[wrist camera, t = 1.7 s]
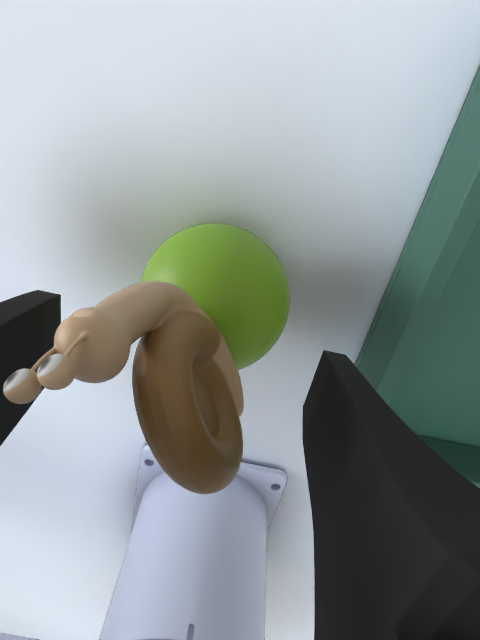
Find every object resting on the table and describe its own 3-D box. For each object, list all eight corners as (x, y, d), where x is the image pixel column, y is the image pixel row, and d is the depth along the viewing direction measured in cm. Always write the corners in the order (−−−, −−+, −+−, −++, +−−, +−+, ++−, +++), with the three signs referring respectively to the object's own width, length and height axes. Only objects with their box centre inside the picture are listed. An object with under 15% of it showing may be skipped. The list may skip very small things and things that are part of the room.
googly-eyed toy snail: (240, 157, 16) (180, 304, 5) (307, 298, 18) (354, 583, 8) (120, 219, 17) (-111, 432, 7) (198, 343, 20) (116, 632, 9)
